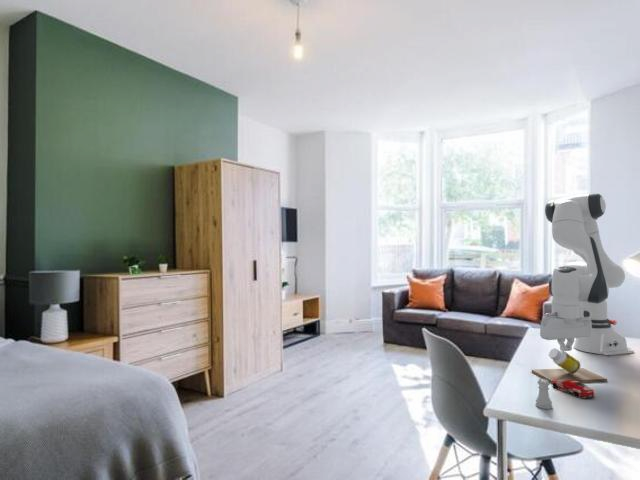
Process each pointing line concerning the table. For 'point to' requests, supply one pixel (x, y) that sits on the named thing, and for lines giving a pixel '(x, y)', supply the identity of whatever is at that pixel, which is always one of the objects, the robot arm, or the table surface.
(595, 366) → the table surface
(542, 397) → the rook chess piece
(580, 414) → the table surface
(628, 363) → the table surface
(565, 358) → the supplement bottle
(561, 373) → the walnut board
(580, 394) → the race car
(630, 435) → the table surface
